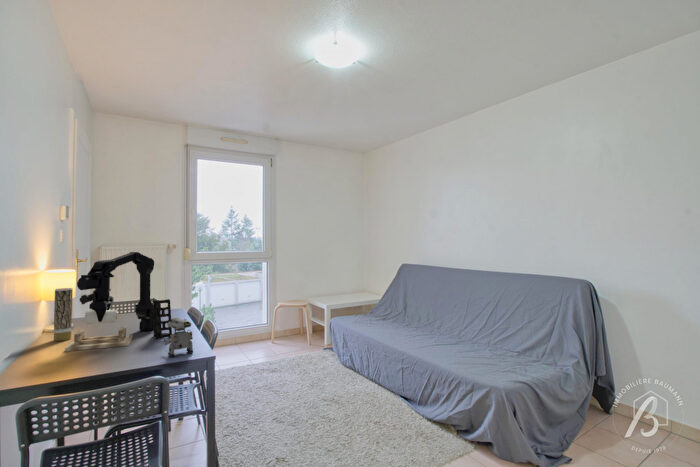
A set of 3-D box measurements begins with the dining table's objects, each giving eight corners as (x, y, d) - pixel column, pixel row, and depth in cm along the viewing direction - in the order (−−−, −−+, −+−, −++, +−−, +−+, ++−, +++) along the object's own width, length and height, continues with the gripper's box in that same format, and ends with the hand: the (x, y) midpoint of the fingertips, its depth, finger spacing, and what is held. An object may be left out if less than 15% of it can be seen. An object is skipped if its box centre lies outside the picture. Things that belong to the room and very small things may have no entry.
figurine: (184, 348, 163) (185, 315, 163) (194, 354, 155) (195, 319, 155) (163, 352, 156) (163, 318, 157) (172, 359, 148) (173, 323, 149)
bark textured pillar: (61, 342, 171) (62, 290, 172) (49, 341, 172) (51, 289, 173) (74, 338, 178) (76, 288, 178) (63, 337, 179) (65, 287, 180)
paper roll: (117, 321, 174) (118, 308, 174) (115, 323, 168) (115, 310, 168) (87, 323, 169) (87, 310, 169) (83, 325, 163) (84, 312, 163)
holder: (176, 334, 185) (175, 297, 184) (168, 340, 178) (166, 301, 176) (157, 334, 186) (154, 296, 185) (147, 339, 179) (145, 300, 177)
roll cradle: (132, 337, 179) (133, 324, 180) (128, 345, 167) (128, 331, 167) (74, 343, 170) (74, 329, 170) (64, 351, 157) (65, 336, 157)
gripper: (87, 285, 174) (86, 317, 174) (75, 290, 157) (74, 326, 157) (114, 284, 179) (113, 316, 178) (105, 289, 162) (105, 324, 161)
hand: (101, 320), depth 168 cm, fingers closed on paper roll, 6 cm apart
